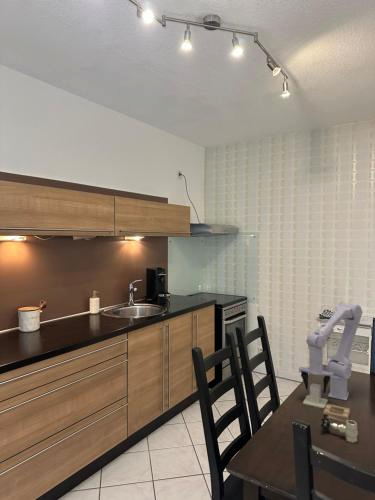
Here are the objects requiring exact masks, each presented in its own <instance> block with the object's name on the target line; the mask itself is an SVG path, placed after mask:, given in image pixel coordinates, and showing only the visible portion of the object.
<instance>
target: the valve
mask: <svg viewBox="0 0 375 500" xmlns="http://www.w3.org/2000/svg"><path fill="white" fill-rule="evenodd" d="M327 417H328V415H327V414H324V415H323V417H321V424H320V427H321V432H323V433H326V432H327V431H328V430H330V428H332V429H335V430H338V431H339V432H340V433H342V434H344V433H345V439H346V441H347V442H348V443H357V442H358V437H357V436H358V434H359V431H358V423H357V421H355V420H352V419H350V420H349V419H348V420H347V421H346V422H345V424H343V423H340V424H338V423H334V422H333V423H332V421H331V419H330V418H327Z"/></svg>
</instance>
